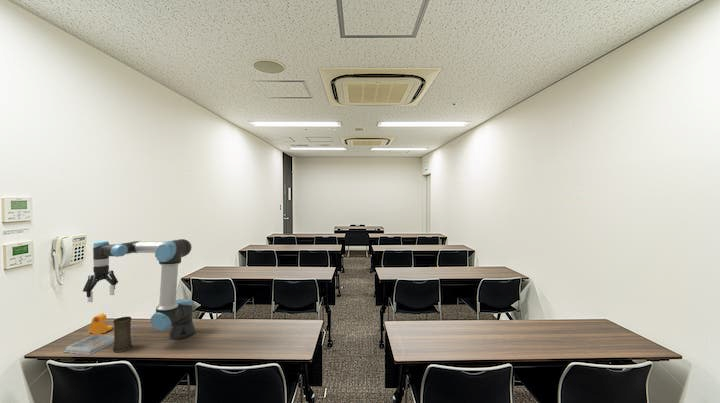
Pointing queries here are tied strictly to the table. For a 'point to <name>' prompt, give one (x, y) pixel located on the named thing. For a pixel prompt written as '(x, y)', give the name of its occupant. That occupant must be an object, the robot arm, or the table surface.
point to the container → (122, 334)
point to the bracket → (99, 325)
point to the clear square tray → (90, 344)
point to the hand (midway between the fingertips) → (101, 298)
